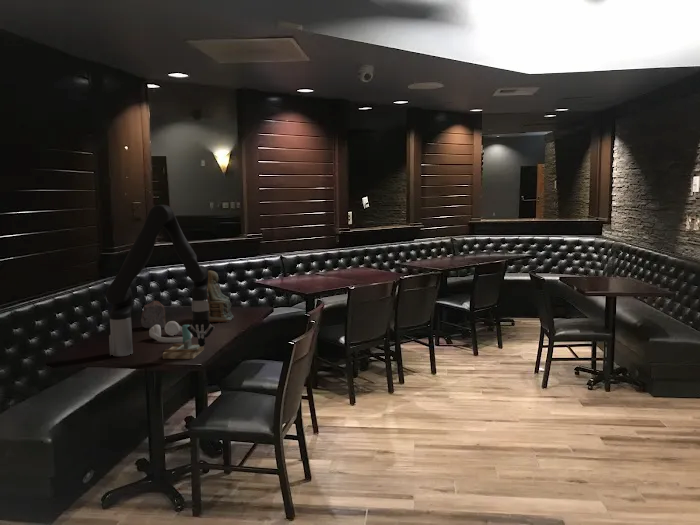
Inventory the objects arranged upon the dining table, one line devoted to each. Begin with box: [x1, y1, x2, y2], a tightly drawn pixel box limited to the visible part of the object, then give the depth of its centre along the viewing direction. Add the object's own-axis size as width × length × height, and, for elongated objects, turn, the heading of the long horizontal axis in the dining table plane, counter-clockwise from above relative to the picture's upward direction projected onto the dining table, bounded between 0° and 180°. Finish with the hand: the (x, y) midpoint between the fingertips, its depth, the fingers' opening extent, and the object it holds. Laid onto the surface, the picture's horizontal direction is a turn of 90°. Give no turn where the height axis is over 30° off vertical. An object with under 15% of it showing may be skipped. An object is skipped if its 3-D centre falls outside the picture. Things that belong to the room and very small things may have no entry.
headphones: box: [148, 320, 194, 344], centre depth 303 cm, size 20×8×20 cm
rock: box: [140, 300, 167, 329], centre depth 329 cm, size 14×12×15 cm
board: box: [162, 343, 205, 360], centre depth 272 cm, size 14×16×3 cm
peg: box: [181, 324, 192, 344], centre depth 284 cm, size 4×4×11 cm
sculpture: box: [207, 270, 235, 323], centre depth 347 cm, size 24×16×30 cm, turn 179°
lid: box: [177, 338, 200, 350], centre depth 272 cm, size 8×8×4 cm
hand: (201, 346), depth 272 cm, fingers closed
